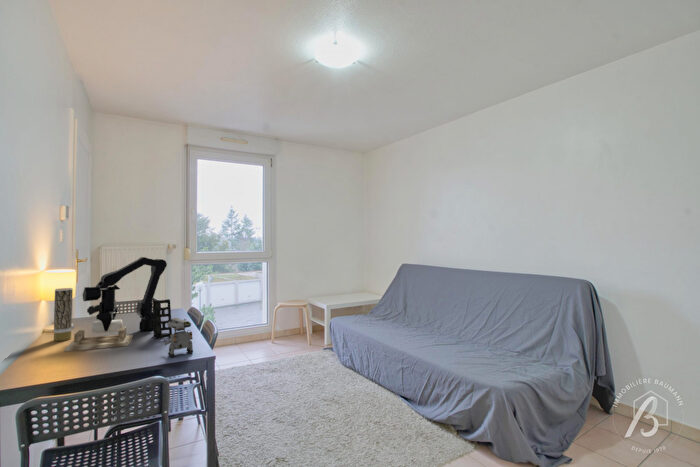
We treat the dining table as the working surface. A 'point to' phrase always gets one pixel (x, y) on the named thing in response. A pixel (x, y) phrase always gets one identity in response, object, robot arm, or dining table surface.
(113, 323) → the paper roll
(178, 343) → the figurine
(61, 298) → the bark textured pillar
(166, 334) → the holder
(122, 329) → the roll cradle
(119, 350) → the dining table surface
